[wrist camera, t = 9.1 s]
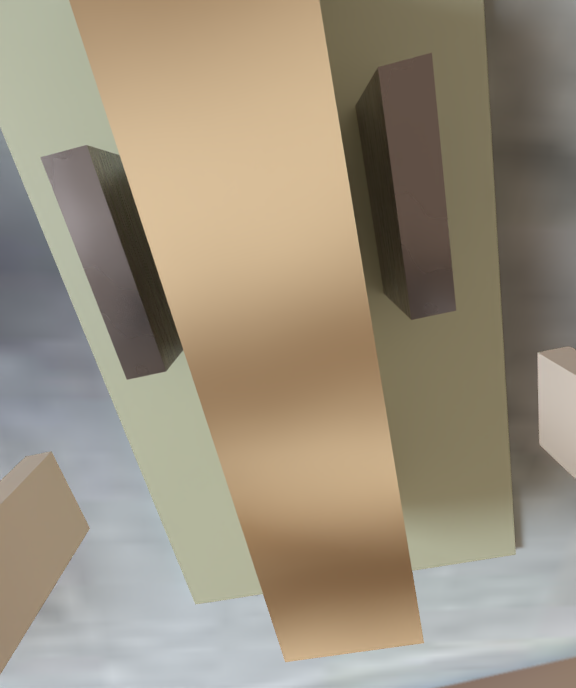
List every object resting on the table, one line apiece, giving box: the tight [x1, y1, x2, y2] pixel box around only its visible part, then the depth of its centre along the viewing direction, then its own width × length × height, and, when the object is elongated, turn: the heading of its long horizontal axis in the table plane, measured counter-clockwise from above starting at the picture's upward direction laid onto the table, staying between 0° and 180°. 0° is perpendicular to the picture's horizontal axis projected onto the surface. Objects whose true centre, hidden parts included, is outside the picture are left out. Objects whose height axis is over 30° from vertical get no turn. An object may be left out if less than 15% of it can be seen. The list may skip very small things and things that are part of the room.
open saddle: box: [40, 53, 456, 380], centre depth 12 cm, size 6×9×4 cm, turn 103°
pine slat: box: [69, 0, 424, 662], centre depth 11 cm, size 18×4×6 cm, turn 13°
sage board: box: [0, 0, 516, 604], centre depth 14 cm, size 32×15×1 cm, turn 13°
